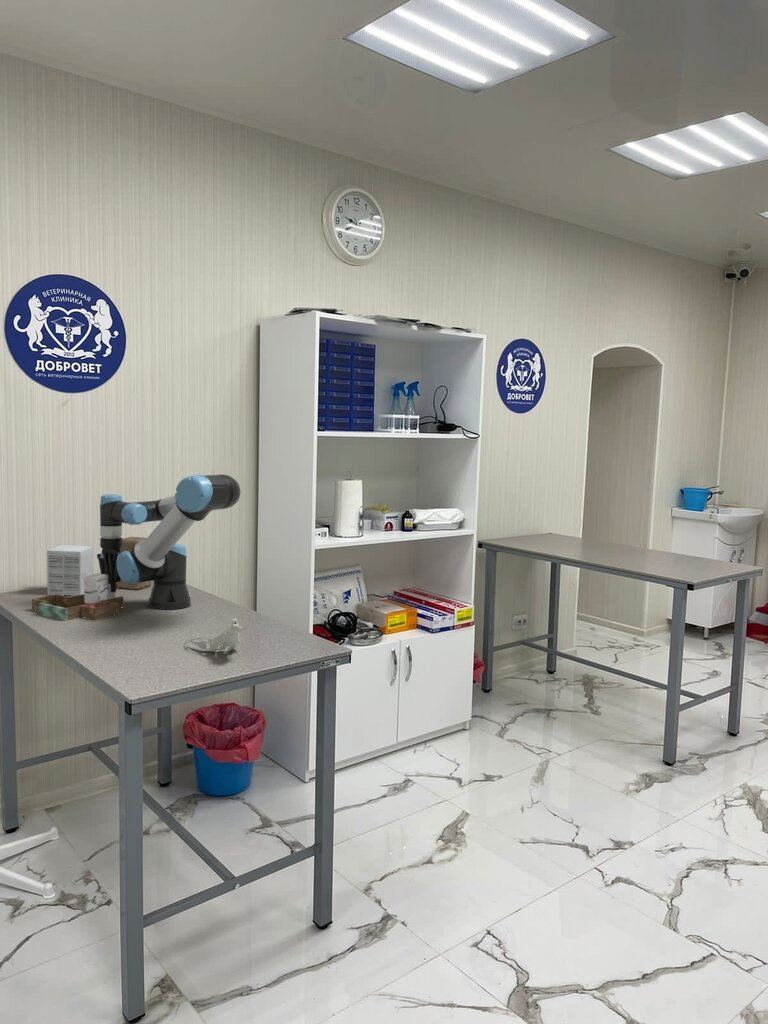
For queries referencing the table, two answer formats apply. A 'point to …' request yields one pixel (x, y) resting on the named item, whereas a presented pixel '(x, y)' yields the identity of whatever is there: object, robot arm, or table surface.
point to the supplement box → (68, 569)
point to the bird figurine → (222, 639)
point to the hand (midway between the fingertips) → (111, 600)
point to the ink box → (95, 589)
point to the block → (127, 546)
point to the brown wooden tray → (75, 607)
